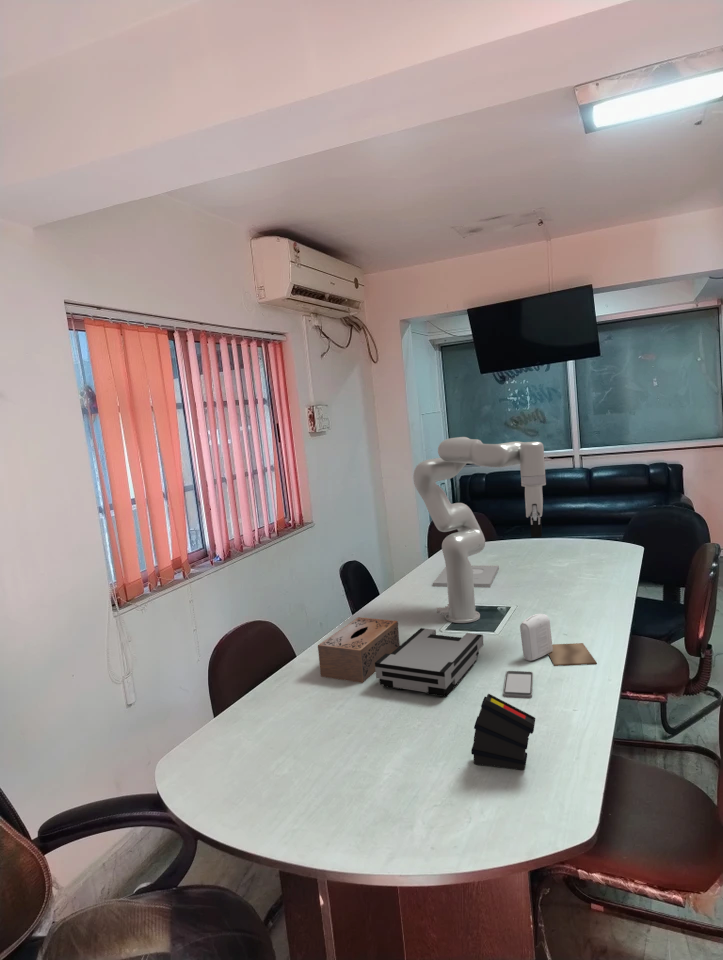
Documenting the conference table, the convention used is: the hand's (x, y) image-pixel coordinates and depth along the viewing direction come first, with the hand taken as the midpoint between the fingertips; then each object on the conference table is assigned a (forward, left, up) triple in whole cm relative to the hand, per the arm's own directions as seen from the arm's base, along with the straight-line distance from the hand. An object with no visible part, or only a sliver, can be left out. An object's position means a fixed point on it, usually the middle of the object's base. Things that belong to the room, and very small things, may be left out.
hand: (536, 533), depth 199 cm
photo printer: (-4, -15, -34) cm, 38 cm away
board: (+5, -15, -35) cm, 38 cm away
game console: (-36, -23, -35) cm, 55 cm away
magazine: (-22, -72, -35) cm, 83 cm away
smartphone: (-13, -34, -35) cm, 51 cm away
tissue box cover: (-58, -14, -35) cm, 69 cm away
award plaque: (-18, +77, -35) cm, 86 cm away
